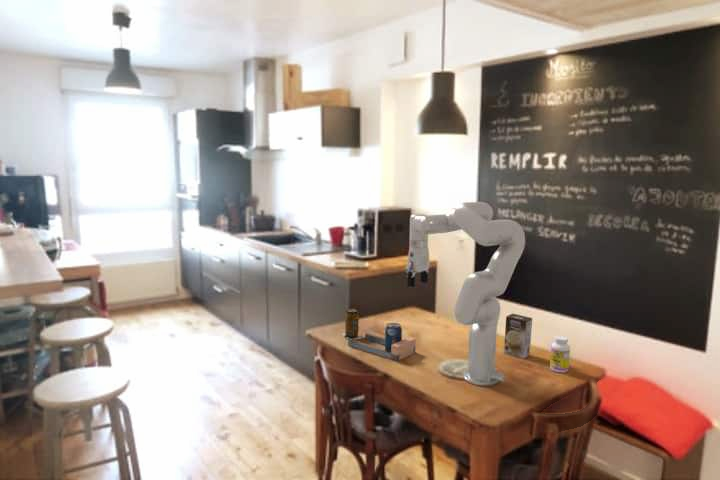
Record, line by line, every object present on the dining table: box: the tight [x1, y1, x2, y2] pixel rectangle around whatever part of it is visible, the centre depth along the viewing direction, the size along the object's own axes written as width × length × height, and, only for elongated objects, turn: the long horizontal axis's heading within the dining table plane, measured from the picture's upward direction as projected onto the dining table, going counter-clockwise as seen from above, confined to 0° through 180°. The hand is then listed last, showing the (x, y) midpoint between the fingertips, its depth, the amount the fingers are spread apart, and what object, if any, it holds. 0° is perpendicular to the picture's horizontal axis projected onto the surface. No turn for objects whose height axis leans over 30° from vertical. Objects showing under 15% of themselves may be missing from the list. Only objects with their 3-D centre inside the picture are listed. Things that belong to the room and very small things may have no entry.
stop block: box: [391, 336, 417, 362], centre depth 205 cm, size 3×13×6 cm, turn 140°
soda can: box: [384, 322, 403, 352], centre depth 208 cm, size 7×7×12 cm
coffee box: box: [503, 313, 533, 359], centre depth 208 cm, size 9×6×16 cm
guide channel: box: [347, 332, 416, 362], centre depth 213 cm, size 26×13×2 cm, turn 50°
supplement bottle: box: [549, 335, 571, 373], centre depth 192 cm, size 7×7×13 cm
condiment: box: [342, 308, 362, 340], centre depth 228 cm, size 7×8×12 cm
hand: (417, 284), depth 209 cm, fingers open, 9 cm apart
